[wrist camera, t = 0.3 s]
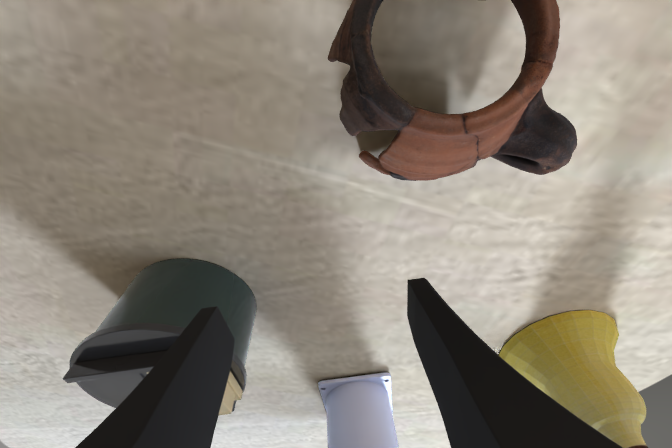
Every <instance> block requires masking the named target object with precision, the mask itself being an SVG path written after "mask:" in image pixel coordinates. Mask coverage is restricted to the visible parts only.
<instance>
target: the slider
mask: <svg viewBox="0 0 672 448" xmlns="http://www.w3.org/2000/svg"><path fill="white" fill-rule="evenodd" d="M148 373H149V372H147V374H148ZM242 393H243V391H242V389H241V387H240V386H239V384H238V383H237V381H236V379H235V378H234V376H233V374H232V373H231V371H230V373H229V377H228V381H227V385H226V389H225V393H224V396H223V400H222V404H221V407H220V411H219V415H225V414H231V413H232V408H233V404H234V401H235V400H241V398H242Z"/></svg>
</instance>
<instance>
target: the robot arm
mask: <svg viewBox="0 0 672 448" xmlns="http://www.w3.org/2000/svg"><path fill="white" fill-rule="evenodd" d="M407 316H408V320H409V324H410V328H411V332H412V336H413V339H414V343H415V345H416V348H417V351H418V353H419V356H420V359H421V361H422V364H423V367H424V369H425V372H426V374H427V377H428V380H429V382H430V385H431V387H432V390H433V393H434V395H435V398H436V401H437V403H438V406H439V409H440V412H441V415H442V418H443V421H444V424H445V428H446V431H447V435H448V438H449V442H450V445H451V448H623V447H621V446H620V445H618V444H617V443H615V442H614V441H612V440H611V439H609V438H608V437H606V436H605V435H603V434H602V433H600V432H599V431H597V430H596V429H594V428H593V427H591V426H590V425H588V424H587V423H586V422H584V421H583V420H581V419H580V418H578V417H577V416H575V415H574V414H573V413H571V412H570V411H569V410H567V409H566V408H565V407H563V406H562V405H560V404H559V403H558V402H556V401H555V400H554V399H552V398H551V397H550V396H548V395H547V394H545V393H544V392H543V391H541V390H540V389H539V388H537V387H536V386H535V385H534V384H532V383H531V382H530V381H529V380H527V379H526V378H525V377H524V376H522V375H521V374H520V373H519V372H518V371H516V370H515V369H514V368H513V367H512V366H510V365H509V364H508V363H507V362H506V361H504V360H503V359H502V358H501V357H500V356H499V355H498V354H497V353H495V352H494V351H493V350H492V349H491V348H490V347H489V346H488V345H487V344H486V343H485V342H484V341H483V340H481V339H480V338H479V337H478V336H477V335H476V334H475V333H474V332H473V331H472V330H471V329H470V328H469V327H468V326H467V325H466V324H465V323H464V322H463V321H462V319H461V318H460V317H459V316H458V315H457V314H456V313H455V312H454V311H453V310H452V309H451V308H450V307H449V306H448V304H447V303H446V302H445V301H444V300H443V299H442V298H441V296H440V295H439V294H438V293H437V292H436V291H435V289H434V288H433V287H432V286H431V284H430V283H429V282H428V281H427V280H426V279H425V278H419V279H412V280H408V307H407ZM234 343H235V338H234V337H233V335H232V333H231V331H230V329H229V327H228V325H227V323H226V321H225V319H224V318H223V316H222V314H221V312H220V310H219V308H218V306H215V307H207V308H202V309H201V310H200V311H199V312H198V313H197V315H196V316H195V317H194V318H193V319H192V321H191V322H190V323H189V324H188V326H187V327H186V328H185V329H184V331H183V332H182V333H181V334H180V336H179V337H178V338H177V339H176V341H175V342H174V343H173V344H172V346H171V347H170V348H169V349H168V350H167V352H166V353H165V354H164V355H163V357H162V358H161V359H160V360H159V361H158V363H157V364H156V365H155V366H154V367H153V368H152V369H151V371H150V372H149V373H148V374H147V375H146V376H145V377H144V379H143V380H142V381H141V382H140V383H139V384H138V385H137V386H136V388H135V389H134V390H133V391H132V392H131V393H130V394H129V395H128V396H127V397H126V399H125V400H124V401H123V402H122V403H121V404H120V405H119V406H118V407H117V408H116V409H115V410H114V411H113V412H112V413H111V414H110V415H109V416H108V417H107V418H106V419H105V420H104V421H103V422H102V423H101V424H100V425H99V426H98V427H97V428H96V429H95V430H94V431H93V432H92V433H91V434H90V435H89V436H87V437H86V438H85V439H84V440H83V441H82V442H81V443H80V444H79V445H78V446H77V447H76V448H210V447H211V442H212V438H213V434H214V430H215V426H216V422H217V419H218V415H219V411H220V407H221V404H222V400H223V396H224V393H225V389H226V385H227V381H228V377H229V373H230V369H231V365H232V358H233V351H234ZM318 387H319V390H320V394H321V397H322V400H323V403H324V406H325V409H326V412H327V436H328V448H399V445H398V440H397V435H396V430H395V425H394V420H393V415H392V414H393V411H392V391H391V376H390V373H387V372H385V373H377V374H370V375H362V376H354V377H347V378H339V379H331V380H324V381H320V382H319V383H318Z"/></svg>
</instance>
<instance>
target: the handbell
mask: <svg viewBox="0 0 672 448" xmlns="http://www.w3.org/2000/svg"><path fill="white" fill-rule="evenodd" d="M618 336H619V333H618V330H617V327H616V323H615V320H614V319H613V318H611V317H610V316H609V315H607V314H606V313H603V312H597V311H592V310H582V311H569V312H565V313H561V314H557V315H553V316H550V317H547V318H545V319H543V320H540V321H538V322H536V323H533V324H531V325H529V326H528V327H526V328H525V329H523V330H521V331H520V332H518V333H517V334H515V335H514V336H513V337H512V338H511V339H510V340H509V341H508V342H507V343H506V344H505V345H504V346H503V347H502V349H501V351H500V353H499V356H500V357H501V358H502V359H503V360H504V361H506V362H507V363H508V364H509V365H510V366H512V367H513V368H514V369H515V370H516V371H518V372H519V373H520V374H521V375H522V376H524V377H525V378H526V379H527V380H529V381H530V382H531V383H532V384H534V385H535V386H536V387H537V388H539V389H540V390H541V391H543V392H544V393H545V394H547V395H548V396H550V397H551V398H552V399H554V400H555V401H556V402H558V403H559V404H560V405H562V406H563V407H565V408H566V409H567V410H569V411H570V412H571V413H573V414H574V415H575V416H577V417H578V418H580V419H581V420H583V421H584V422H586V423H587V424H588V425H590V426H591V427H593V428H594V429H596V430H597V431H599V432H600V433H602V434H603V435H605V436H606V437H608V438H609V439H611V440H612V441H614V442H615V443H617V444H618V445H620V446H621V447H623V448H648V447H647V446H646V444H645V442H644V440H643V438H642V436H641V426H640V424H641V423H643V421H644V420H645V417H646V406H645V403H644V400H643V399H642V397H641V395H640V394H639V393H638V392H637V390H636V389H635V388H634V387H633V385H632V384H631V383H630V381H629V380H628V379H627V378H626V377H625V376H624V375H623V374H622V373H621V371H620V370H619V369H618V368H617V367H616V365H615V358H614V348H615V345H616V342H617V339H618Z"/></svg>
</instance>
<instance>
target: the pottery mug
mask: <svg viewBox="0 0 672 448" xmlns="http://www.w3.org/2000/svg"><path fill="white" fill-rule="evenodd" d="M382 1H383V0H353V2H352V3H351V5H350V8H349V9H348V11H347V13H346V16H345V18H344V20H343V22H342V24H341V26H340V28H339V30H338V32H337V35H336V37H335V39H334V41H333V43H332V46H331V49H330V52H329V55H328V60H329V61H330V62H334V61H336V60H337V61H339V62H343V63H346V64H348V65H350V70H349V72H348V73H347V75H346V77H345V78H344V80H343V85H342V88H341V101H342V108H341V111H340V120H341V122H342V123H343V125H344V127H345V128H346V130H347V132H348V133H349V134H350V135H352V136H356V135H357V134H358V133H360V132H361V131H376V130H398V133H397V135H396V136H395V138H394V139H393V141H392V142H391V144H390V145H389V147H388V148H387V149H386V150H384V151H383V152H382V153H381V154H380V155H379V157H378V159H377V158H375V157H374V156H373V155H371V154H370V153H369V152H367V151H365V150H364V151H362V152H361V153H360V154H359V157H360V158H361V159H362V160H363V161H364V162H365V163H366V164H367V165H368V166H370V167H372V168H374V169H376V170H378V171H379V172H381V173H383V174H387V175H391V176H392V177H393V178H397V179H401V180H414V181H416V180H435V179H437V178H441V177H446V176H449V175H453V174H457V173H460V172H462V171H465V170H467V169H470V168H472V167H474V166H475V165H476V163H477V161H478V160H481V159H486V158H488V157H490V156H491V157H493V158H495V159H497V160H499V161H501V162H503V163H506V164H508V165H510V166H512V167H515V168H518V169H520V170H523V171H526V172H529V173H534V174H539V175H543V174H547V173H549V172H553V171H556V170H558V169H560V168H561V167H563V166H565V165H566V164H567V163H568V162H569V161H570V159H571V157H572V153H573V151H574V150H575V148H576V146H577V136H576V130H575V128H574V126H573V125H572V124H571V123H570V121H569V120H568V119H567V118H565V117H564V116H563V115H561V114H559V113H557V112H555V111H554V110H552V109H551V108H550V107H549V106H548V105H547V104H546V102H545V100H544V98H543V93H542V86H543V85H544V83H545V81H546V79H547V77H548V76H549V74H550V72H551V70H552V67H553V62H554V60H555V58H556V51H557V48H558V39H559V29H560V18H559V7H558V5H557V2H556V0H511V1H512V3H513V4H514V6H515V8H516V9H517V11H518V13H519V16H520V18H521V20H522V23H523V25H524V29H525V35H526V52H525V58H524V62H523V65H522V68H521V73H520V75H519V77H518V78H517V80H516V81H515V83H514V84H513V85H512V87H511V88H510V89H509V90H508V91H507V92H506V93H505V94H504V95H503V96H502V97H501V98H500V99H498V100H497V101H495V102H494V103H492V104H490V105H488V106H486V107H484V108H482V109H480V110H477V111H473V112H469V113H464V114H439V113H434V112H430V111H427V110H424V109H421V108H417V107H412V106H411V105H410V104H409V103H407V102H406V101H405V100H403V99H402V98H401V97H399V96H398V95H397V94H396V93H395V92H394V91H393V90H392V89H391V88H390V87H389V85H388V84H387V83H386V81H385V80H384V78H383V76H382V74H381V72H380V70H379V68H378V66H377V64H376V61H375V58H374V54H373V50H372V45H371V32H372V26H373V21H374V18H375V15H376V12H377V10H378V8H379V6H380V5H381V3H382Z"/></svg>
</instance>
